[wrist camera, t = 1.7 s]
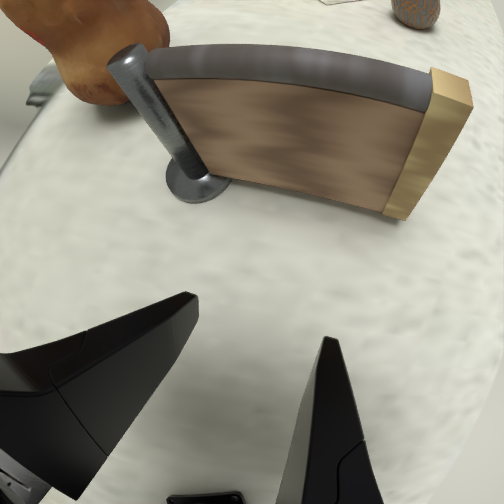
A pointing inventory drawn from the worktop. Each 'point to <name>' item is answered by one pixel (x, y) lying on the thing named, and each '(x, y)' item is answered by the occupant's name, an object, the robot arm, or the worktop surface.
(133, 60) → the hinge post
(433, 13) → the vase
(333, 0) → the medicine bottle
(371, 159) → the gate leaf
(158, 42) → the butternut squash
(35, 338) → the worktop surface
